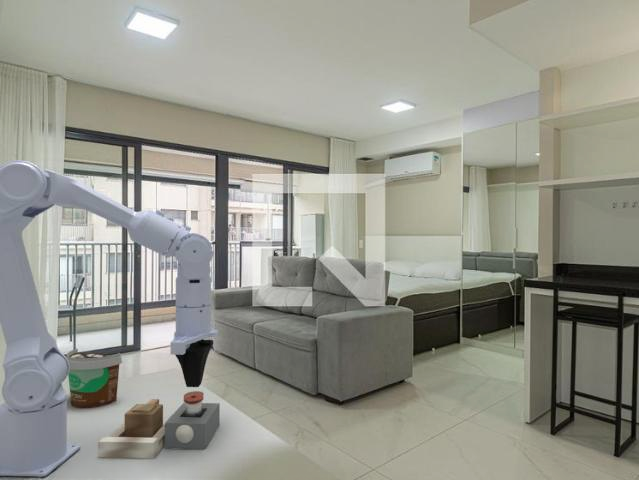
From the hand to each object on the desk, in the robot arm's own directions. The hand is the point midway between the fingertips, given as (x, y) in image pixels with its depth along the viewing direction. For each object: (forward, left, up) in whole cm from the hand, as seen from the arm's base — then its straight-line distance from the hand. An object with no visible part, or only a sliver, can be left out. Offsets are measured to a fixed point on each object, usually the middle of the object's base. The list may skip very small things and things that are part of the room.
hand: (193, 385), depth 68 cm
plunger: (0, 0, -6) cm, 6 cm away
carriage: (-8, -1, -9) cm, 12 cm away
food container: (-27, +12, -9) cm, 31 cm away
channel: (-8, +2, -9) cm, 12 cm away
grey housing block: (0, 0, -8) cm, 8 cm away
